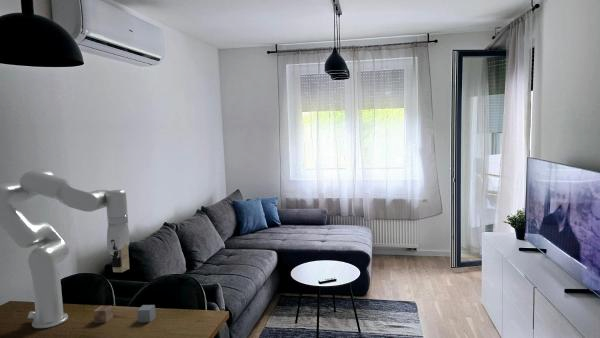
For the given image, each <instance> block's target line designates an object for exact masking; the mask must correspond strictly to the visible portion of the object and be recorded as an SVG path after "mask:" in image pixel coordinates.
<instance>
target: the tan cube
mask: <svg viewBox="0 0 600 338" xmlns="http://www.w3.org/2000/svg"><path fill="white" fill-rule="evenodd" d="M113 318H114V312H113V305H100V306H99V307H97V308H96V309H94V310H93V320H94V323H95V324H104V323H105V324H107V323H108V322H110V321H111V320H112V319H113Z"/></svg>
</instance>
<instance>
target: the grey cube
mask: <svg viewBox="0 0 600 338" xmlns="http://www.w3.org/2000/svg"><path fill="white" fill-rule="evenodd" d="M156 316H157V315H156V305H155V304H142V305H141V306H140V307H139V308H138V309H137V323H151V322H152V321H153V320H154V319H155V318H156Z"/></svg>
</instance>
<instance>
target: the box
mask: <svg viewBox="0 0 600 338" xmlns="http://www.w3.org/2000/svg"><path fill="white" fill-rule="evenodd" d="M114 250H117V248H114ZM128 250H129V248H128V243H126V244H125V245H124V247H123V248H122V249H121V250H120V257H121V267H113V266H112V273H124V272H126V271H127V270H130V257H129V256H130V255H129V252H128ZM115 252H116V253H117V251H115Z"/></svg>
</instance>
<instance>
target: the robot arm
mask: <svg viewBox="0 0 600 338" xmlns="http://www.w3.org/2000/svg"><path fill="white" fill-rule="evenodd" d="M37 195H39V196H44V197H46V198H50V199H53V200H57V201H59V203H61V204H63V205H64V206H66V207H68V208H72V209H75V210H78V211H82V212H90V213H92V212H95V211H97V210H101V209H104V208H106V215H107V217H106V218H107V231H106V249H107V250H108V253H109V254H110V256H111V259H112V268H113V267H121V257H120V250H121V249H122V248H123V247H124V245H125V244H126V243H128V253H129V248H130V241H131V240H130V230H129V219H128V218H129V217H128V201H127V192H126V190H124V189H113V190H108V189H107V190H106V189H96V190H93V191H88V192H87V191H84V190H79V189H76V188H74V187H72V186H71V185H70V183H69V181H68V180H67V179H65V178H61V177H58V176H56V175H55V174H54V173H53V172H52V171H50V170H49V169H35V170H28V171H26V172H25V173H23V174H22V175H21V177H20V179H19V180H18V181H14V182H13V181H12V182H6V183H1V184H0V227H1V228H2V229H3V230H4V232H5V233H6V234H7V235H8V236H9V237H10V239H12V241H13V242H14V243H15V244H16V246H17V247H19V248H21V249H29V248H33V247H35V246H37V247H36V248H34V249H33V250H31V252H30V253H29V254H28V257H27V265H28V267H29V271H30V274H31V279H32V280H31V281H32V289H33V299H34V310H35V311H33V310H32V311H29V313H28V315H27V318H28V319H33V321H32V323H31V326H32V327H33V328H34V329H47V328H52V327H55V326H58V325H61V324H62V323H65V322H66V321H67V320H68V319H69V315H68V313H66V312H64V306H63V305H64V304H63V303H64V302H63V295H62V284H61V282H62V281H61V275H60V272H59V270H58V268H57V264H59V263H61V262H63V261H64V260H66V259H67V258H68V256H69V253H70V250H69V246H68V244H67V242H66V241H65V240H64V239H63V238H62V237H61V236H60V234H59V233H58V232H57V231H56V230H55V228H54V227H53V226H52V225H51V224H50V223H48V222H47V221H44V220H35V221H30V219H29V218H28V217H26V215H25V214H24V213H23V212H22V211H21V210H19V209H18V208H16V207H14V206H13V205H12V204H17V203H21V202H25V201H27V200H30V199H31V198H34V197H35V196H37ZM114 248H117V250H114ZM115 251H117V253H116V252H115Z"/></svg>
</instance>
